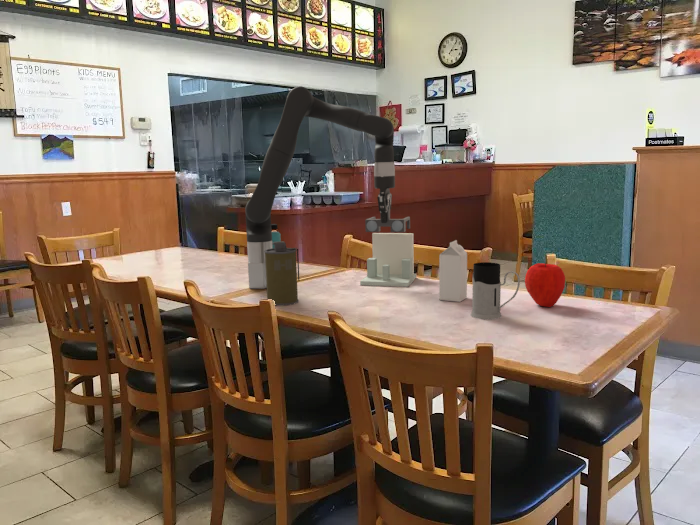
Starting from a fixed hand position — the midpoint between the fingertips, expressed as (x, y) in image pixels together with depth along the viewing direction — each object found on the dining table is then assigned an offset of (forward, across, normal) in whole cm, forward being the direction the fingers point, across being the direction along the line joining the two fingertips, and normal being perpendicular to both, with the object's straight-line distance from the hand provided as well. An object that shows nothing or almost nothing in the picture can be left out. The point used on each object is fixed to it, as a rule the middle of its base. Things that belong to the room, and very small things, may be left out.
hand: (385, 222), depth 210 cm
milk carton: (+23, +21, +27) cm, 41 cm away
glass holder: (+23, +41, +41) cm, 62 cm away
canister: (+23, +35, -27) cm, 50 cm away
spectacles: (+3, -4, 0) cm, 6 cm away
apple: (+23, +25, +55) cm, 65 cm away
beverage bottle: (+23, -22, -55) cm, 64 cm away
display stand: (+23, -5, 0) cm, 24 cm away
